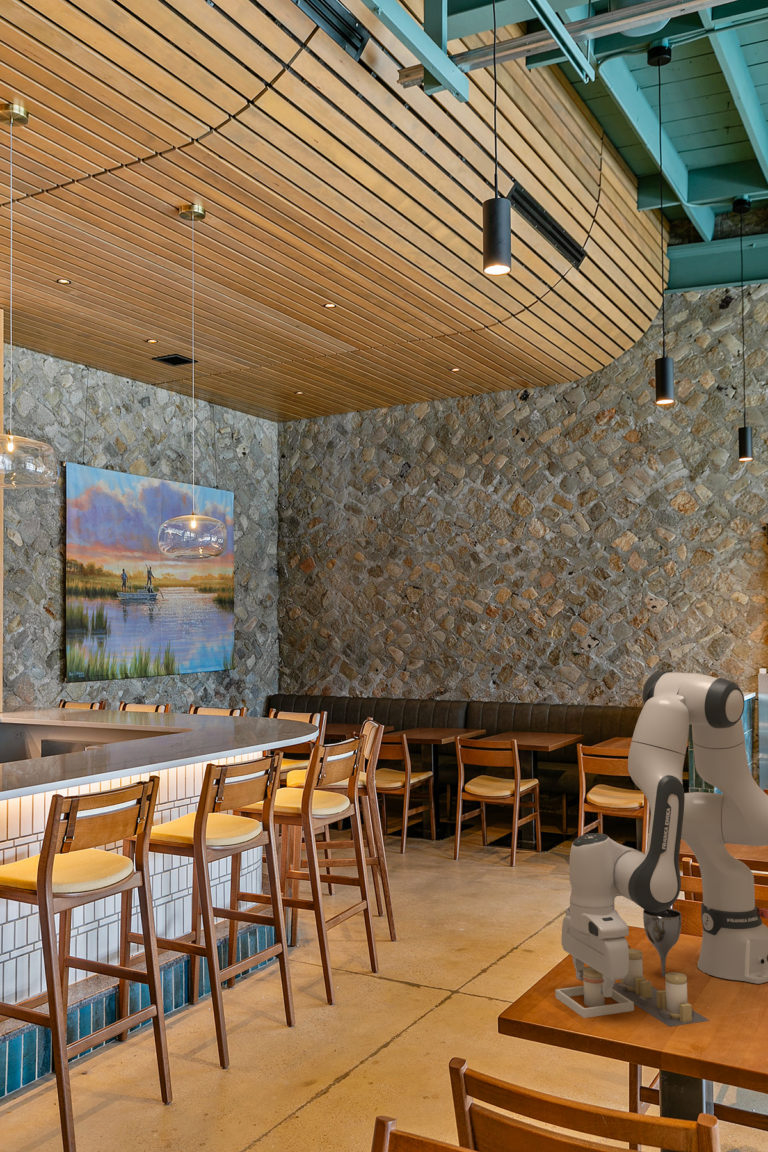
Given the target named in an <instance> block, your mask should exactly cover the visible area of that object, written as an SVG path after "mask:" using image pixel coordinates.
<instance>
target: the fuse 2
mask: <svg viewBox="0 0 768 1152" xmlns="http://www.w3.org/2000/svg"><path fill="white" fill-rule="evenodd" d="M664 978H665V979H664V982H665V990H666V1012H668V1013H670V1018H672V1019H677V1020H680V1006H679V1005H680V1004H687V1003H688V977H687V974H684V973H681V972H675V971H674V972H673V971H670V972H665V977H664Z"/></svg>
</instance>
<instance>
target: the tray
mask: <svg viewBox="0 0 768 1152" xmlns="http://www.w3.org/2000/svg"><path fill="white" fill-rule="evenodd" d="M554 993H555V998H556V999H557V1000H558V1001H559V1002H561V1003H563V1004H564V1005H565V1006H566V1007H568V1008H569V1009H571V1010H572V1011H574V1012H575V1014H577V1015H579V1016H580V1017H581V1018H583V1019H586V1018H593V1017H599V1016H600V1017H601V1016H607V1015H614V1014H620V1013H621V1014H622V1013H629V1012H633V1011H634V1012H635V1004H634V1002H632V1001H631V1000H629V999H628V998H626V997H624V996H623V995H621V994H620V993H618V992H617V991H615V990H613V989H612V996H611V997H610V998H611V999H613V1000H614V1001H615V1002H617V1003H612V1004H605V1005H604V1006H596V1007H589V1006H588V1007H584V1006H582V1005H581V1004H579V1003H578V1002H577V1001H576V1000H574V999H572V997H578V996H584V985H579V986H572V987H564V988H558V989H555V992H554Z"/></svg>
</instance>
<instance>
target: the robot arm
mask: <svg viewBox="0 0 768 1152" xmlns="http://www.w3.org/2000/svg"><path fill="white" fill-rule="evenodd" d="M642 704H643V707H642V709H641V712H640V713H639V716H638V719H637V721H636V723H635V728H634V731H633V735H632V738H631V741H630V746H629V751H628V758H627V771H628V775H629V777H631V780H632V782H633V783H634V784H635V786H636V787H637V788H638V789H640V790H641V792H642V794H643V795H644V797H645V798H646V800H647V802H648V805H649V808H650V809H649V810H650V817H649V818H650V819H649V827H648V835H647V842H646V843H647V844H646V851H645V853H644V852H643V851H640V850H637V849H635V848H633V847H629V846H627V845H626V846H625V845H623V844H621V843H618V842H617V841H615V840H613V839H612V838H610V837H609V836H608V835H607V834H605V833H600V832H595V833H594V832H593V833H592V832H591V833H586V834H585V833H584V834H583V835H579V836H578V837H576V838H575V839H574V840H573V842H572V844H571V845H570V846H571V847H570V853H569V864H568V865H569V866H568V867H569V868H568V869H569V870H568V873H569V875H568V878H569V879H568V880H569V883H570V888H571V891H570V892H571V893H570V897H569V906H568V908H567V909H566V910H565V916H564V917H563V920H562V925H561V947H562V949H563V951H564V952H566V953H568V954H569V955H571V956H572V963H573V966H574V969H575V977H576V979H577V980H579V981H581V982H584V980H583V969H584V968H585V965H587V967H592V968H593V969H595V970H596V971H598V972H600V973H601V974H602V976H603V979H604V983H603V986H600V990H601V995H603V996H604V998H611V996H612V987H613V985H614V983H616V981H617V980H620V979H624V978H626V976H627V975H628V971H629V950H628V945H629V943H628V940H627V939H626V937H628V936H629V934H630V929H629V928H630V927H629V925H628V924H627V923H626V921H625V920H624V919H623V918H622V917H621V916H620V915H619V912H618V911H617V910H616V908H615V907H616V906H615V899H616V898H617V897H624V898H626V899H627V900H629V901H631V902H633V903H635V904H636V905H638V906H639V907H640V908H641V909H643V910H646V911H649V912H653V913H657V912H662V911H665V910H666V909H668V908H671V907H672V906H673V905H674V904H675V902H676V901H677V900H678V899H679V898H678V897H679V896H680V893H681V888H682V879H681V871H680V851H681V842H682V841H684V843H685V844H686V845H687V846H688V848H690V850H691V851H692V853H693V855H694V857H695V859H696V861H697V863H698V867H699V871H700V877H701V885H702V886H701V887H702V902H701V904H700V911H701V912H700V916H701V917H700V918H701V924H702V937H701V938H702V939H701V946H700V952H699V958H698V961H697V968H698V969H699V970H700V971H701V972H702V973H705V974H706V975H710V976H712V977H716V978H719V979H725V980H726V979H727V980H731V981H739V982H740V981H741V982H746V983H752V984H756V985H757V984H758V985H759V984H764V983H767V982H768V926H767V925H766V924H764V923H763V919H762V918H764V919H765V920H768V909H767V908H764V907H761V908H759V907H758V906H757V905H756V899H755V894H756V893H755V877H754V874H753V872H752V870H751V868H750V867H749V866H748V865H747V864H745V863H744V862H743V861H741V860H740V859H737V858H735V857H734V856H733V855H732V854H731V853H730V852H729V851H728V850H727V848H726V845H727V844H728V845H738V846H739V845H740V846H749V847H751V846H752V847H764V846H765V847H766V846H768V794H767V793H766V792H765V791H763V789H762V788H761V787H760V786H759V785H758V784H757V782H756V781H755V779H754V777H753V775H752V773H751V771H750V766H749V762H748V757H747V748H746V740H745V730H744V723H743V720H742V717H743V714H744V711H745V704H746V703H745V696H744V693H743V691H742V690H741V688H740V686H739V685H738V684H737V683H735V681H732V680H729V679H727V678H724V677H719V678H718V677H714V676H711V675H708V674H702V673H696V672H692V673H690V672H678V671H675V672H674V671H671V670H660V671H656V672H653V673H652V674H650V676H649V677H648V678H647V679H646V681H645V682H644V685H643V688H642ZM690 725H691V735H692V744H693V745H692V747H693V755H694V756H693V757H694V765H695V771H696V772H697V774H698V776H699V777H700V779H702V780H703V781H704V782H706V783H707V784H709V785H710V786H713V787H715V788H716V789H718V790H719V791H720V792H721V793H716V792H715V793H714V792H713V793H712V792H701V791H700V792H699V791H692V792H685V789H684V786H683V785H684V783H683V774H684V773H683V771H684V763H685V758H686V753H687V748H688V740H689V732H690Z"/></svg>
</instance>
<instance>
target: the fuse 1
mask: <svg viewBox="0 0 768 1152" xmlns="http://www.w3.org/2000/svg"><path fill="white" fill-rule="evenodd" d="M628 950H629V971H628V975H627V976H626V978H624V979H623V985H624V986H626V991H629V992H635V978H641V977H644V969H643V967H644V965H643V958H644V957H643V951H641V950H640V949H637V948H636V949H635V948H631V949H628Z"/></svg>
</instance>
